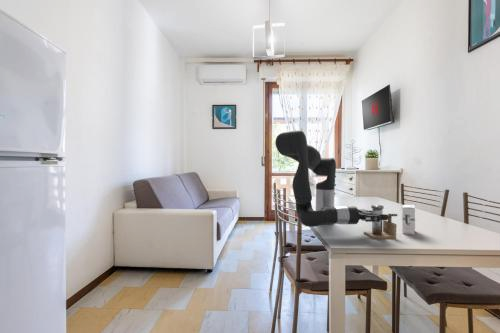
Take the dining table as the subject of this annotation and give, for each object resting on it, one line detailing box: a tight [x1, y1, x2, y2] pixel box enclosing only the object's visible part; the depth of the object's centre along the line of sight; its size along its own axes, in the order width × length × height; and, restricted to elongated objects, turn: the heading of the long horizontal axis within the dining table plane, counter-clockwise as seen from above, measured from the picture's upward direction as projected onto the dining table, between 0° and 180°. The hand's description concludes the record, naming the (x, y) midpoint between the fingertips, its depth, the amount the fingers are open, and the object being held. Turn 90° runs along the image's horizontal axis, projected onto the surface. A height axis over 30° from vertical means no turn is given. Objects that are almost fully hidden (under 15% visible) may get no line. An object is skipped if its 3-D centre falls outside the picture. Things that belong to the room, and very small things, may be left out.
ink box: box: [401, 204, 416, 236], centre depth 129 cm, size 9×5×12 cm, turn 149°
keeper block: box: [363, 213, 398, 240], centre depth 121 cm, size 8×12×10 cm, turn 94°
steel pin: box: [371, 204, 385, 235], centre depth 121 cm, size 5×5×12 cm
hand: (381, 215), depth 121 cm, fingers open, 8 cm apart
